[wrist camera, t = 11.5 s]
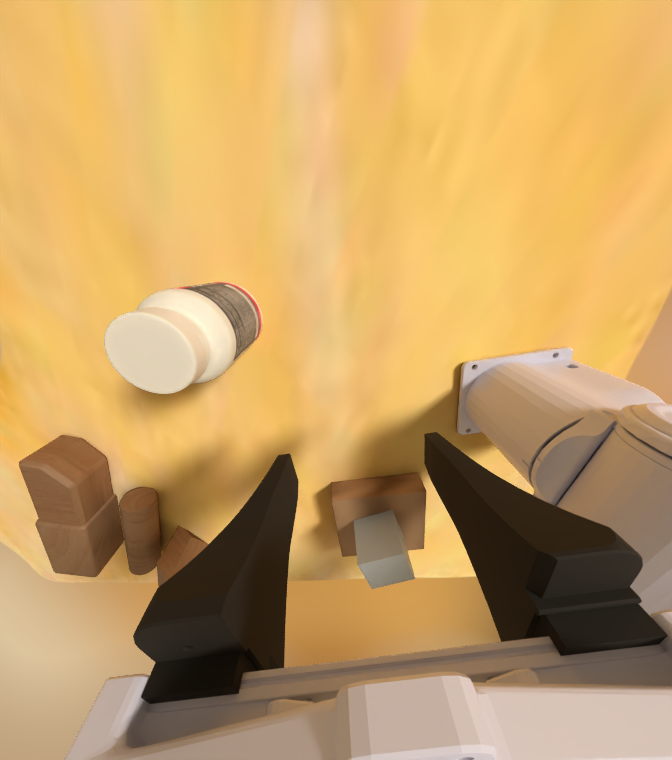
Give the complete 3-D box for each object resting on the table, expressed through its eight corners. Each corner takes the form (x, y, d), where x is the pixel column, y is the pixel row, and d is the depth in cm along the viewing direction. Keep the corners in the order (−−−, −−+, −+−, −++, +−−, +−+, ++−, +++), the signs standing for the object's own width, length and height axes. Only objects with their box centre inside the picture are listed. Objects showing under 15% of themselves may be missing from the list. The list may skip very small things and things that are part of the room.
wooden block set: (44, 588, 27) (-8, 471, 20) (90, 537, 32) (63, 429, 25) (202, 605, 29) (208, 505, 22) (222, 554, 34) (232, 459, 27)
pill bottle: (216, 265, 18) (108, 264, 9) (277, 311, 20) (233, 347, 11) (185, 322, 20) (70, 366, 11) (243, 360, 21) (182, 426, 13)
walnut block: (417, 469, 28) (426, 491, 25) (416, 525, 32) (423, 548, 30) (331, 478, 28) (331, 501, 26) (341, 532, 33) (342, 556, 30)
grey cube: (392, 509, 27) (403, 553, 22) (402, 533, 28) (415, 578, 24) (353, 520, 27) (357, 565, 23) (366, 543, 29) (372, 589, 25)
